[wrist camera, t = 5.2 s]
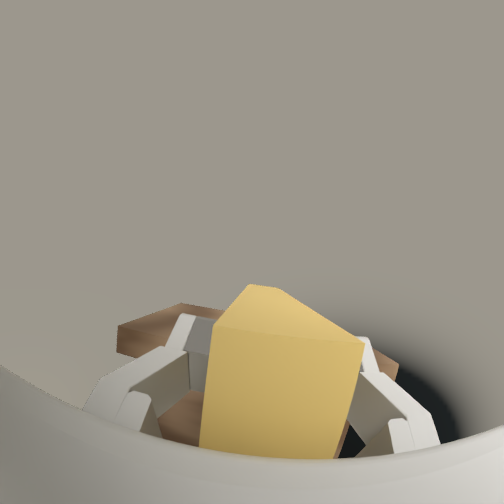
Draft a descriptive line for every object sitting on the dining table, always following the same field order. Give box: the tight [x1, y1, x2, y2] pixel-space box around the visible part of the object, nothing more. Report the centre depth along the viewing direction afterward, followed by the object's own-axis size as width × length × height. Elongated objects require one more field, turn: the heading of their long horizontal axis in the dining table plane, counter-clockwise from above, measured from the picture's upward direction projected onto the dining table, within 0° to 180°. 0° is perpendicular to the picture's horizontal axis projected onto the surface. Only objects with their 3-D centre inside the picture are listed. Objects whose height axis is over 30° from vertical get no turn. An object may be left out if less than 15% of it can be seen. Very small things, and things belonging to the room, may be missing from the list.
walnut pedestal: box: [117, 303, 399, 459], centre depth 20 cm, size 16×14×26 cm
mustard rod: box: [199, 284, 365, 459], centre depth 17 cm, size 3×24×3 cm, turn 179°
